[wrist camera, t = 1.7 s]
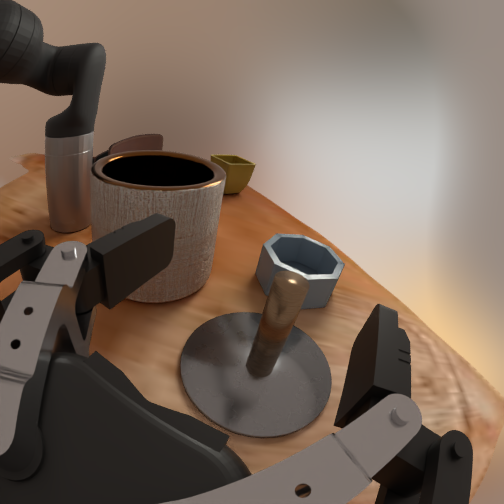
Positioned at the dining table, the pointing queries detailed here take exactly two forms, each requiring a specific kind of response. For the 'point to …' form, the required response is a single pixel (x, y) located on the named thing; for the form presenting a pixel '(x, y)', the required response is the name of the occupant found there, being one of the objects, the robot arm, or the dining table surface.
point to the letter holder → (134, 145)
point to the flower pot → (234, 171)
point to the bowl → (301, 266)
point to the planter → (162, 211)
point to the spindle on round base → (258, 367)
